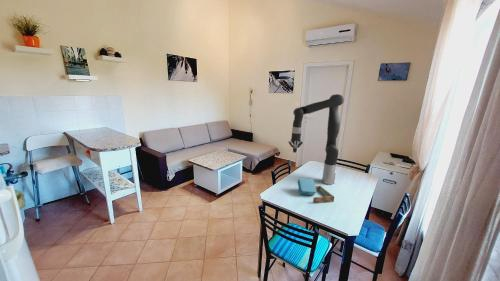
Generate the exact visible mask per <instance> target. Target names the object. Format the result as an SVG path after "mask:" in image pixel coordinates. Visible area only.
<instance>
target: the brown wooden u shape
mask: <svg viewBox="0 0 500 281" xmlns="http://www.w3.org/2000/svg"><path fill="white" fill-rule="evenodd" d="M315 187H316V192H320V193H321V194H322V195H324V196H317V197H316V196H315V197H313V198H312V199H313V200H312V203H313V204H322V203H334V201H335V196H334V195H333V194H331V193H330V192H329V191H328V190H326V189H325V188H324V187H323V186H321V185H315Z"/></svg>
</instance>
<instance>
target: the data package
mask: <svg viewBox="0 0 500 281" xmlns="http://www.w3.org/2000/svg"><path fill="white" fill-rule="evenodd" d="M297 184H298V185H297V186H298V190H299V193H300V194H301V195H306V196H307V195H308V196H314V195H315V194H316V193H317V191H316V187H315V186H316V184H315V180H314V179H313V178H306V177H299V179H298V181H297Z"/></svg>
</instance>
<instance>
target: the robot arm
mask: <svg viewBox="0 0 500 281" xmlns="http://www.w3.org/2000/svg"><path fill="white" fill-rule="evenodd" d="M344 102H345V98H344V96H343V95H341V94H332V95H331V96H329V98H328V99H325V100H321V101H317V102H313V103H310V104H307V105H305V106H300V107H296V108H295V109H294V110H293V115H294V117H293V118H294V119H293V122H292V128H291V138H290V140H289V141H288V142H287V143H288V144H289V146H290V147H291V148H292V152H293V153H297V151H298V148H300V147H301V146H302V145H303V141H302V140H301V138H302V124H303V123H302V122H303V119H304V115H307V114H313V113H315V112H318V111H321V110H324V109H329V110H328V119H327V132H326V134H327V139H326V145H325V153H326V154H325V159H324V163H323V170H322V171H323V172H322V178H321V179H322V180H321V182H322V183H323V184H325V185H333V184H335V180H336V172H335V171H336V166H337V162H338V158H339V149H338V148H337V139H338V135H339V131H340V125H341V121H340V116H339V115H340V114H339V109H340V108H339V107H340V106H342V104H344Z"/></svg>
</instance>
